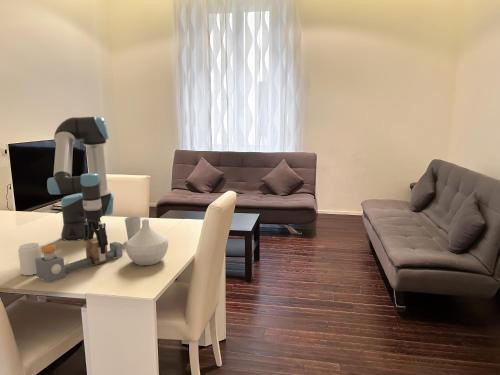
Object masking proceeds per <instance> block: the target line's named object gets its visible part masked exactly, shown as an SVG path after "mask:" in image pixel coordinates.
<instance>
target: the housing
mask: <svg viewBox="0 0 500 375" xmlns="http://www.w3.org/2000/svg"><path fill="white" fill-rule="evenodd" d="M35 261H36V270H37V274H36V276H37V277H39V278H41V279H43V280H42V281H44V280H45V281H44V282H46V281H47V282H46V283H48V282H49V283H51V281H52V282H55V281H58V280H60V279H63V278H66V274H65V267H64V265H65V258H64V257H61V256H59V255H56V254H54V259H53V260H50V261H47V262H46V261H45V260H44V256H41V258H37V259H35ZM39 278H38V279H39ZM41 279H40V280H41Z"/></svg>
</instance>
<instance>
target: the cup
mask: <svg viewBox="0 0 500 375" xmlns="http://www.w3.org/2000/svg"><path fill="white" fill-rule="evenodd" d="M141 221H142V219H141V216H128V217H125V218H124V223H125V228H126V234H127V235H126V237H127V241H128V240H129V239H130V238H132V237H133V236H134V235H135V234H136V233H137V232H138V231H139V230H140V229H141Z"/></svg>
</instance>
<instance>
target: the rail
mask: <svg viewBox="0 0 500 375" xmlns="http://www.w3.org/2000/svg"><path fill="white" fill-rule="evenodd" d="M122 245H123V244H122V243H120V242H116V241H114V242H110V243H109V250H107V253H108V261H109V260H111V259H115V258H120V257H121V258H122V257H123V246H122ZM93 265H95V264H94V263H93V258H92V257H88V258H87V257H85V258H83V259H79V260H76V261H72V262H70V263H66V264H64V267H65V275H66V274H69V273H72V272H75V271H78V270H81V269H84V268H88V267H90V266H93Z"/></svg>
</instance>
